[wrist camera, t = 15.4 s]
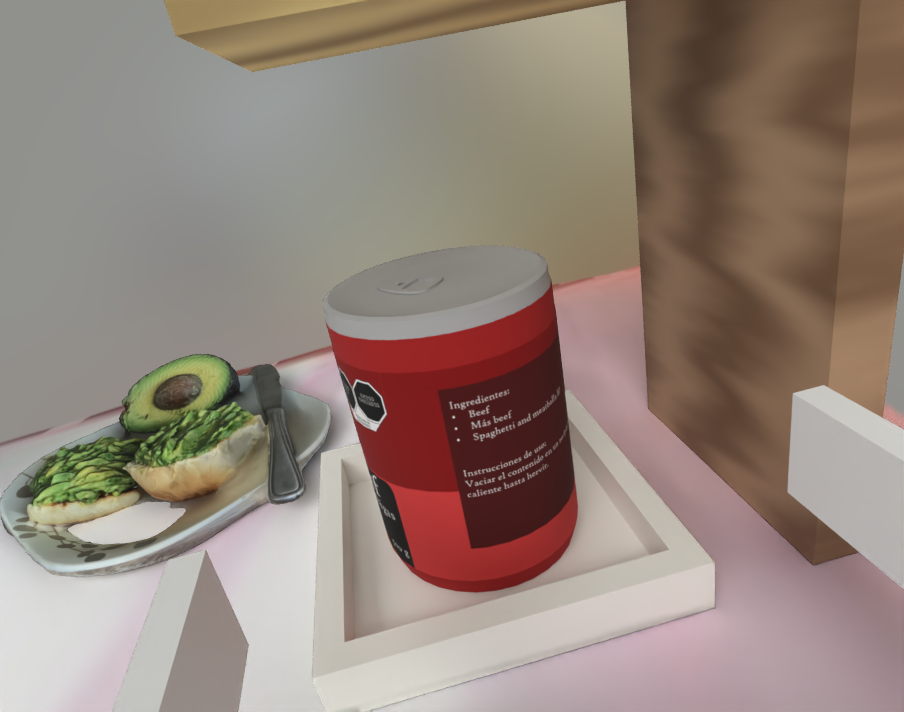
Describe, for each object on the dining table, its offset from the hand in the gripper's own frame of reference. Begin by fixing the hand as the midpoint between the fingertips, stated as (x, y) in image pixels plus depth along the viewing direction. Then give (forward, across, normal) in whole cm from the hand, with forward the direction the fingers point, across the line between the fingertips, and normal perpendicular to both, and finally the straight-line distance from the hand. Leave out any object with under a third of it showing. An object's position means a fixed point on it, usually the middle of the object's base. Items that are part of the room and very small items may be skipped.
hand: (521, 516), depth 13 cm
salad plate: (+23, -16, -9) cm, 29 cm away
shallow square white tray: (+10, 0, -8) cm, 13 cm away
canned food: (+10, 0, -8) cm, 12 cm away
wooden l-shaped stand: (+10, +4, -8) cm, 13 cm away
